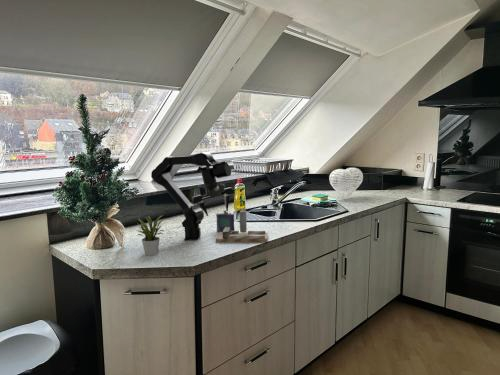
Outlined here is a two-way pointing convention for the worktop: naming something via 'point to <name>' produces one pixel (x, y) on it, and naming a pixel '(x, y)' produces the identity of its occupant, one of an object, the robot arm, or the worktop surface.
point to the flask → (225, 221)
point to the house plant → (150, 236)
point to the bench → (241, 236)
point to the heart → (341, 171)
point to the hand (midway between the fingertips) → (217, 213)
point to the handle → (243, 224)
